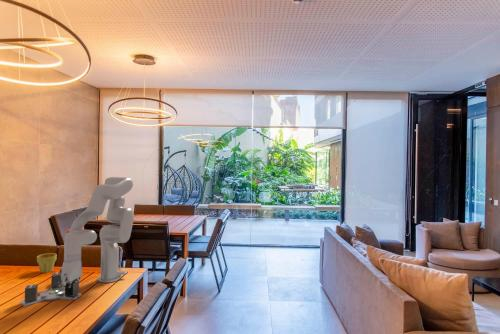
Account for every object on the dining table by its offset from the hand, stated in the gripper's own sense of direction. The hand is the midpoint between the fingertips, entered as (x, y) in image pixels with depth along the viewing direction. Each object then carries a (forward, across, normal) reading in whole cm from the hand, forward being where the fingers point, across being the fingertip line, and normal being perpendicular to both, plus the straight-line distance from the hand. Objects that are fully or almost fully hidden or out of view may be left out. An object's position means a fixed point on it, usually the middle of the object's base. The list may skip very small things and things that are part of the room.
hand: (71, 292), depth 161 cm
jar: (+2, -20, -16) cm, 25 cm away
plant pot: (+2, -33, -41) cm, 53 cm away
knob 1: (+1, +9, -15) cm, 17 cm away
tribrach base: (+2, -2, -11) cm, 11 cm away
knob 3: (+1, 0, 0) cm, 1 cm away
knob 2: (+1, -9, -15) cm, 17 cm away
